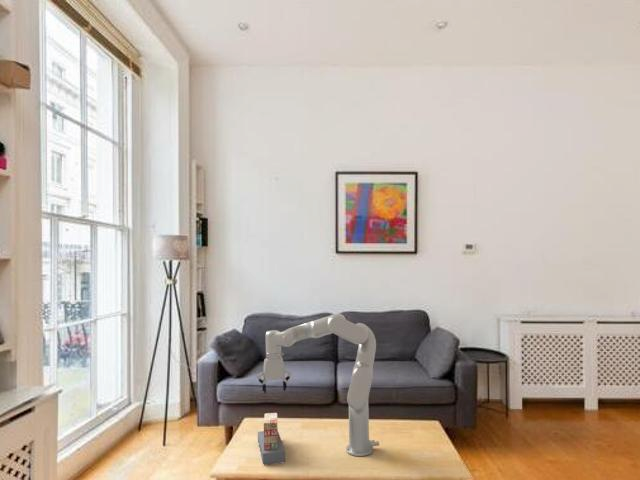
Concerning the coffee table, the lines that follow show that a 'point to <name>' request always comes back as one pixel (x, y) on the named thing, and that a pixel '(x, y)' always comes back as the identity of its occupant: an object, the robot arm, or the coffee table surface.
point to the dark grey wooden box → (271, 451)
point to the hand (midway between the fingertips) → (274, 391)
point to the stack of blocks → (270, 431)
